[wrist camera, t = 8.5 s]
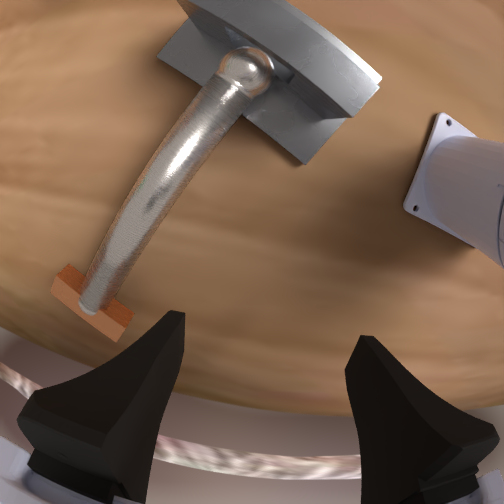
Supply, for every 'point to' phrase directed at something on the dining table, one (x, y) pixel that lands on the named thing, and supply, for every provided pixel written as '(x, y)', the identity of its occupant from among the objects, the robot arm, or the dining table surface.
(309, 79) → the grey hammer
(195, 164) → the metal rod with plate
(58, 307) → the dining table surface
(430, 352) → the dining table surface
